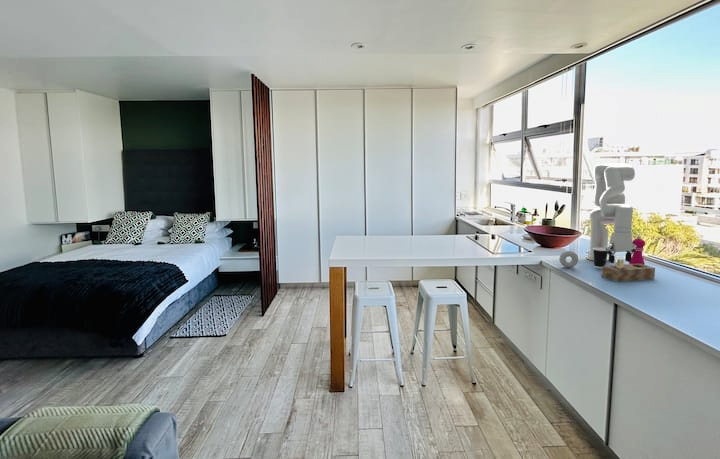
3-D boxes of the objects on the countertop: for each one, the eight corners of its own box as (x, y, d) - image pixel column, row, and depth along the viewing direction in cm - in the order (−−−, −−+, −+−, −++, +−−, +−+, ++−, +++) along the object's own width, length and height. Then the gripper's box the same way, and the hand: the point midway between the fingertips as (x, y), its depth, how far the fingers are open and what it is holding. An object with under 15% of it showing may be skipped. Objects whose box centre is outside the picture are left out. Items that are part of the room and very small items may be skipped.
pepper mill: (646, 273, 226) (649, 237, 223) (631, 272, 228) (634, 237, 225) (640, 269, 233) (643, 234, 230) (626, 269, 235) (629, 234, 232)
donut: (576, 267, 242) (578, 250, 241) (578, 268, 239) (579, 251, 237) (558, 266, 245) (559, 249, 243) (559, 267, 241) (560, 251, 240)
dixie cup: (608, 269, 235) (609, 250, 233) (592, 268, 238) (593, 249, 237) (606, 266, 242) (607, 247, 241) (590, 265, 246) (592, 247, 244)
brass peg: (613, 277, 219) (615, 259, 218) (618, 277, 220) (620, 259, 218) (618, 279, 216) (619, 260, 215) (623, 279, 217) (624, 260, 215)
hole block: (616, 281, 212) (617, 270, 211) (602, 276, 222) (602, 265, 221) (654, 279, 216) (655, 267, 215) (638, 274, 225) (639, 263, 224)
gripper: (631, 227, 219) (628, 259, 222) (602, 229, 216) (599, 261, 219) (643, 230, 211) (640, 262, 214) (612, 231, 209) (610, 264, 212)
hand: (619, 261), depth 217 cm, fingers open, 9 cm apart
